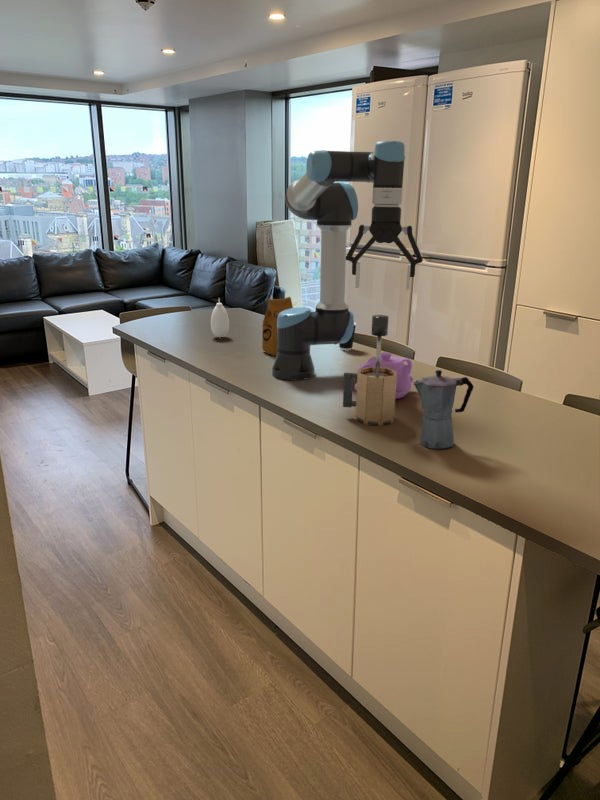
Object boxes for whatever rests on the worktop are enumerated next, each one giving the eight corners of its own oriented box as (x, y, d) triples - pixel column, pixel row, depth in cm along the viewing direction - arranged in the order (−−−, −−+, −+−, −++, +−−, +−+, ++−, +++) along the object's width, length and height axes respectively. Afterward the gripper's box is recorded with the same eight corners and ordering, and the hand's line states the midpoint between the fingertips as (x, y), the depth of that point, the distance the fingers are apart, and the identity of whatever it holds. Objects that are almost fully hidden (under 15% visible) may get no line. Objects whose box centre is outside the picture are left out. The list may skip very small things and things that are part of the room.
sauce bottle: (232, 337, 269) (231, 296, 263) (221, 340, 263) (220, 299, 257) (219, 334, 273) (217, 295, 267) (207, 338, 267) (206, 297, 261)
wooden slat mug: (339, 422, 173) (341, 375, 168) (345, 409, 183) (347, 364, 178) (392, 427, 170) (395, 379, 165) (395, 413, 180) (398, 368, 175)
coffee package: (259, 351, 247) (258, 297, 239) (285, 347, 253) (285, 294, 246) (271, 356, 239) (270, 301, 232) (297, 352, 245) (298, 298, 238)
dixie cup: (346, 346, 256) (347, 320, 252) (359, 349, 250) (360, 323, 247) (332, 348, 251) (333, 322, 248) (345, 352, 246) (346, 326, 242)
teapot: (378, 412, 181) (381, 367, 176) (341, 391, 199) (342, 350, 194) (436, 401, 191) (440, 359, 186) (395, 382, 209) (398, 343, 204)
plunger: (362, 381, 169) (364, 318, 163) (365, 373, 176) (368, 313, 170) (389, 383, 168) (393, 320, 162) (391, 375, 175) (395, 314, 169)
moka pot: (404, 436, 163) (409, 365, 156) (460, 435, 164) (467, 364, 158) (413, 451, 154) (419, 376, 148) (472, 449, 155) (481, 375, 149)
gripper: (336, 205, 155) (334, 288, 162) (435, 207, 150) (429, 292, 157) (341, 204, 162) (338, 284, 169) (436, 206, 157) (429, 288, 164)
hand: (382, 288), depth 163 cm, fingers open, 13 cm apart
